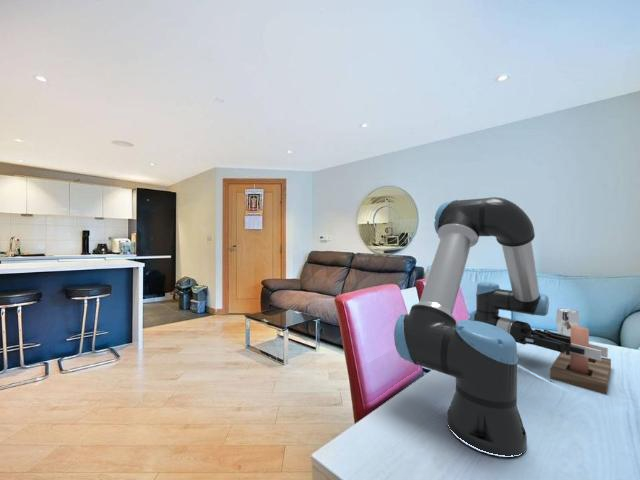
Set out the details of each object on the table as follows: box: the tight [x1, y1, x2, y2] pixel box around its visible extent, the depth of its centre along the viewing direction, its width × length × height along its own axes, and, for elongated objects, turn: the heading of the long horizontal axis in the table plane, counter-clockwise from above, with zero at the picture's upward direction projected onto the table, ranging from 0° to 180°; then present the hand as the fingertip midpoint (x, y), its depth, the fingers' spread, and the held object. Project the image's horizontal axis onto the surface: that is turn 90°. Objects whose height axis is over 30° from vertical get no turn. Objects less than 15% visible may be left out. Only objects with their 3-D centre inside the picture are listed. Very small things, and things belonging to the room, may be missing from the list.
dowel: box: [570, 325, 590, 375], centre depth 85 cm, size 4×4×14 cm
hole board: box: [549, 352, 612, 396], centre depth 89 cm, size 24×12×4 cm, turn 132°
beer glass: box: [555, 308, 580, 337], centre depth 113 cm, size 7×7×15 cm
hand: (603, 354), depth 80 cm, fingers closed on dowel, 4 cm apart
